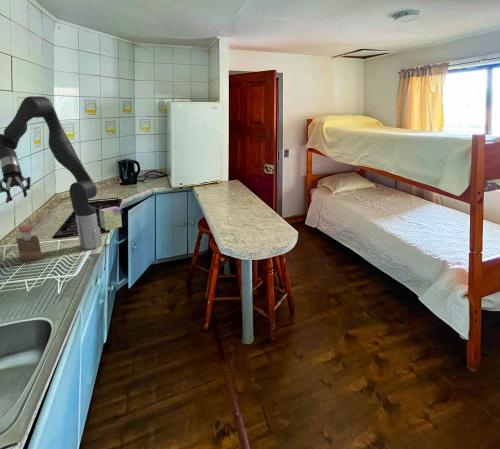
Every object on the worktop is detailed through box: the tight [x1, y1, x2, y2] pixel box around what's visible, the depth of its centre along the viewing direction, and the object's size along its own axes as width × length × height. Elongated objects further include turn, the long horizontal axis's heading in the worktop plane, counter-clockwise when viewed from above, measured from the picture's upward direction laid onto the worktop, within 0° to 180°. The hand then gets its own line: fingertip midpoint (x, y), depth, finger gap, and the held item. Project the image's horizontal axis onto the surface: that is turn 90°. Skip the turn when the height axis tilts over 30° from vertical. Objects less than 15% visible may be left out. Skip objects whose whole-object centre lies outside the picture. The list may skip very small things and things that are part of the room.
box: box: [98, 206, 123, 231], centre depth 197 cm, size 10×6×12 cm, turn 141°
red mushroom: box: [18, 224, 33, 241], centre depth 153 cm, size 5×5×10 cm
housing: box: [16, 235, 43, 263], centre depth 154 cm, size 8×8×9 cm
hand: (17, 197), depth 158 cm, fingers open, 5 cm apart
